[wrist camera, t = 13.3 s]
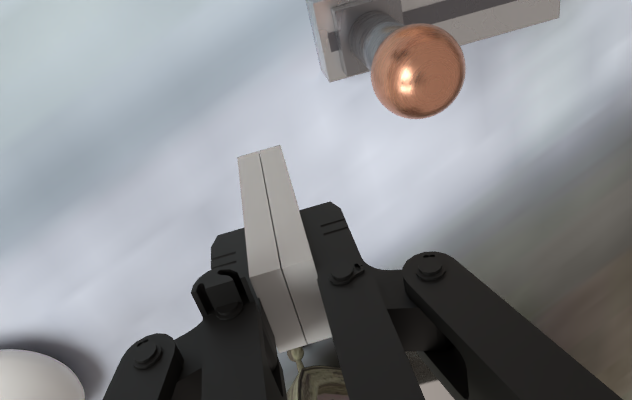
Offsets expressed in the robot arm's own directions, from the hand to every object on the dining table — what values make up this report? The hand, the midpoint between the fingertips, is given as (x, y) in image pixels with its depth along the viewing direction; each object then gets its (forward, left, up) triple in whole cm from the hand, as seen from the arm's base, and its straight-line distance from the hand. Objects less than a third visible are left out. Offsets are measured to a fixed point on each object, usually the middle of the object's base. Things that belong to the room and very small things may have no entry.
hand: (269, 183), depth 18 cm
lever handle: (0, +8, -15) cm, 17 cm away
